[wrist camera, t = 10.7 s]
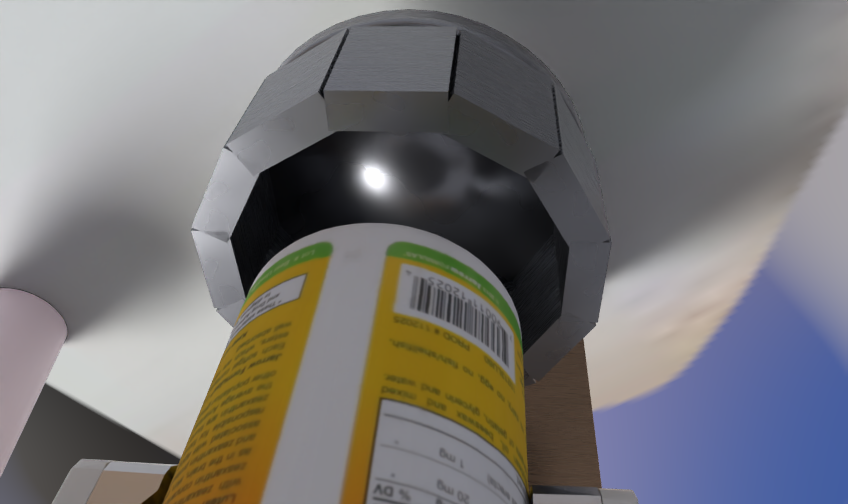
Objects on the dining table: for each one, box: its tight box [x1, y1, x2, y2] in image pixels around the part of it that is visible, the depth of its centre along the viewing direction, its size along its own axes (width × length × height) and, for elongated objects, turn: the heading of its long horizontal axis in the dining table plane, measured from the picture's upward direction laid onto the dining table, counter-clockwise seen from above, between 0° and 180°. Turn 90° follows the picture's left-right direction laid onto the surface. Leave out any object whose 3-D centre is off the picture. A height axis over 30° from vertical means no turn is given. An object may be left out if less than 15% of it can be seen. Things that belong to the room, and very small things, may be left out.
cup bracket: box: [191, 9, 611, 495], centre depth 17 cm, size 14×10×16 cm
